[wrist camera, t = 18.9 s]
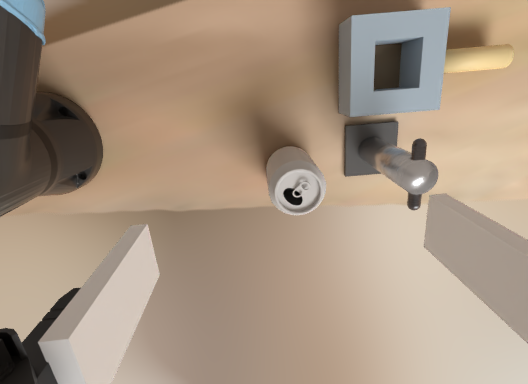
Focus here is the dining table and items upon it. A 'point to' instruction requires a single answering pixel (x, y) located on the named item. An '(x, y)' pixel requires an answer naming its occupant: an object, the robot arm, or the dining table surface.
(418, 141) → the silver tall rounded piece
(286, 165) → the can
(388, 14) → the block
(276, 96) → the dining table surface
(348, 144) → the mat
